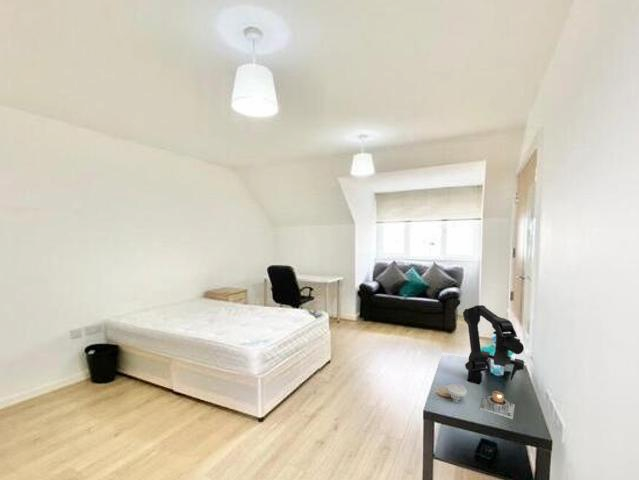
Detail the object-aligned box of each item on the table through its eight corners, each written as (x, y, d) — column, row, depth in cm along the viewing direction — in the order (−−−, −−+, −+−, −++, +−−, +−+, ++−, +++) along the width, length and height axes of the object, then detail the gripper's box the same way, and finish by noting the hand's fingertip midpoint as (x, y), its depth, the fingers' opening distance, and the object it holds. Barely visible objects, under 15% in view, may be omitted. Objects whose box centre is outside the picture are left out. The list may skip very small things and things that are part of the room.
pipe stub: (491, 406, 150) (492, 393, 150) (492, 402, 154) (493, 390, 153) (502, 409, 147) (503, 397, 147) (503, 405, 151) (504, 392, 151)
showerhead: (441, 382, 159) (459, 381, 161) (440, 396, 159) (458, 395, 161) (451, 392, 150) (471, 390, 152) (451, 407, 150) (470, 405, 152)
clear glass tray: (480, 409, 149) (480, 402, 149) (484, 397, 160) (484, 390, 159) (512, 419, 142) (512, 411, 141) (514, 406, 152) (514, 399, 152)
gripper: (477, 346, 155) (476, 377, 156) (523, 356, 144) (521, 389, 145) (482, 339, 164) (480, 369, 165) (525, 348, 153) (523, 380, 154)
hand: (500, 376), depth 157 cm, fingers open, 9 cm apart
